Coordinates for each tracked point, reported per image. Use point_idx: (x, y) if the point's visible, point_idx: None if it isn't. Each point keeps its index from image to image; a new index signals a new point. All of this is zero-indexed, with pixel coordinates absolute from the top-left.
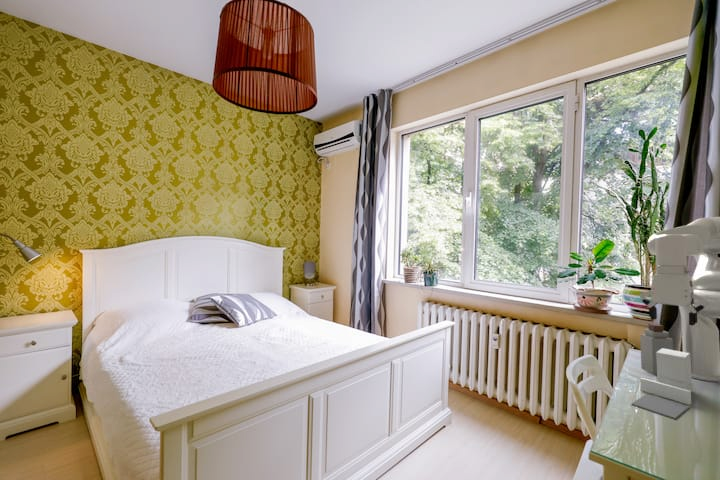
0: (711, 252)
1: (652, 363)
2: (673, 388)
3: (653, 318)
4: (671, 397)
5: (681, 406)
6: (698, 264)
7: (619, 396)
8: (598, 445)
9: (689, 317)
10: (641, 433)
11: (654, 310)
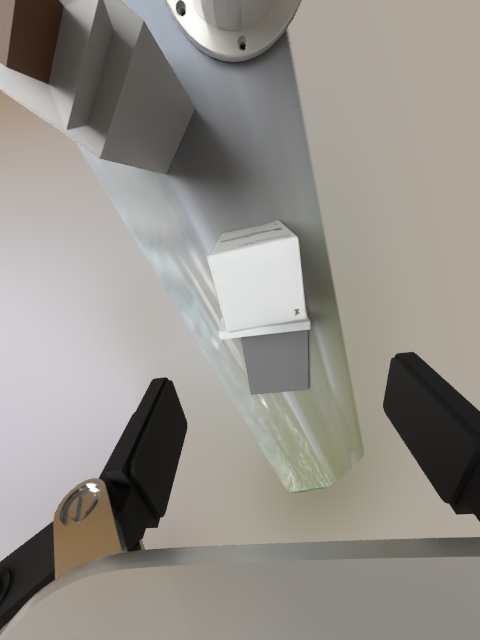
0: None
1: (152, 169)
2: (281, 331)
3: (185, 431)
4: None
5: (299, 342)
6: None
7: (223, 380)
8: (284, 485)
9: (420, 461)
10: (297, 445)
11: (160, 480)
